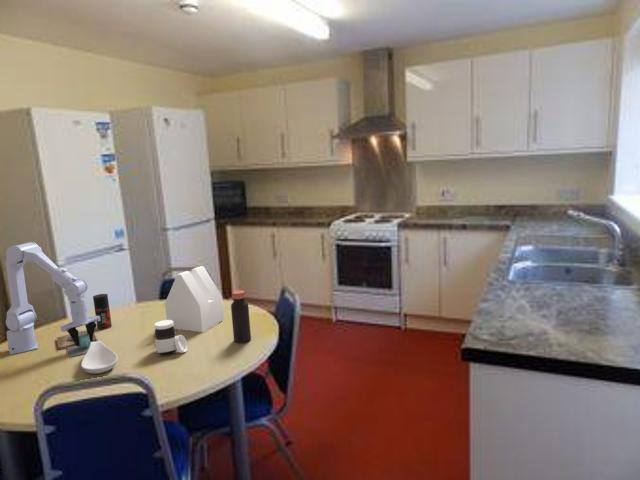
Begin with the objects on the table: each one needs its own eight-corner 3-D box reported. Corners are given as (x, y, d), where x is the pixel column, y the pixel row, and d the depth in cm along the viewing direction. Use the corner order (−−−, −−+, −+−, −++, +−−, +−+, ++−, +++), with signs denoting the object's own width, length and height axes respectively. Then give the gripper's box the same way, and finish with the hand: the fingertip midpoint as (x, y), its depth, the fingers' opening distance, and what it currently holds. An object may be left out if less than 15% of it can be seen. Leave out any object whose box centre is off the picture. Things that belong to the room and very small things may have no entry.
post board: (58, 350, 180) (57, 343, 180) (57, 339, 192) (55, 333, 191) (96, 341, 187) (95, 334, 187) (93, 331, 199) (92, 325, 199)
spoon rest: (121, 371, 158) (118, 352, 157) (84, 381, 152) (81, 361, 150) (111, 350, 178) (109, 333, 176) (78, 358, 172) (75, 340, 170)
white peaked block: (224, 320, 205) (219, 267, 201) (202, 332, 192) (197, 275, 187) (190, 316, 213) (185, 265, 209) (167, 328, 199) (161, 273, 195)
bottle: (247, 343, 176) (243, 294, 173) (231, 343, 178) (226, 294, 174) (253, 337, 183) (249, 289, 179) (237, 336, 184) (233, 289, 181)
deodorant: (108, 324, 208) (103, 293, 206) (114, 326, 205) (109, 294, 202) (95, 328, 204) (90, 296, 201) (101, 330, 200) (96, 298, 198)
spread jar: (155, 349, 176) (152, 320, 174) (185, 343, 180) (182, 315, 178) (157, 360, 165) (154, 330, 163) (189, 354, 169) (186, 324, 167)
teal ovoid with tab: (74, 345, 180) (73, 335, 179) (86, 341, 183) (85, 332, 183) (81, 348, 176) (80, 338, 175) (93, 344, 179) (92, 335, 179)
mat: (68, 358, 172) (68, 357, 172) (66, 348, 182) (66, 347, 182) (103, 349, 178) (103, 348, 178) (99, 340, 188) (99, 339, 188)
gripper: (64, 317, 169) (69, 351, 171) (102, 307, 180) (106, 339, 183) (56, 314, 173) (61, 347, 176) (93, 304, 185) (98, 335, 187)
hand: (84, 343), depth 179 cm, fingers closed on teal ovoid with tab, 5 cm apart
